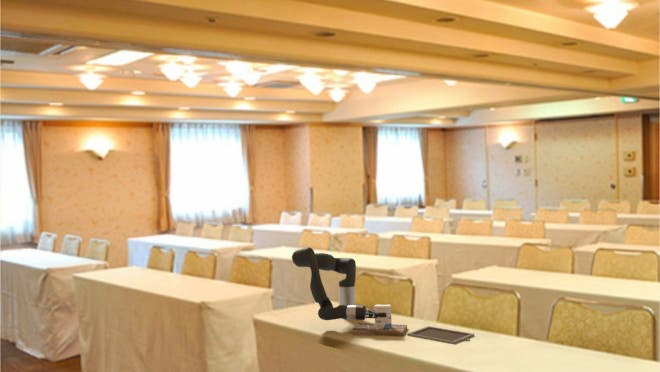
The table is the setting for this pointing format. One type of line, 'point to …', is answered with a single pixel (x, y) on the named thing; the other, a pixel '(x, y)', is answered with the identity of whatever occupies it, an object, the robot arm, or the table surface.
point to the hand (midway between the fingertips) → (387, 313)
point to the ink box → (383, 321)
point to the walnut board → (379, 330)
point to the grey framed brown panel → (441, 335)
